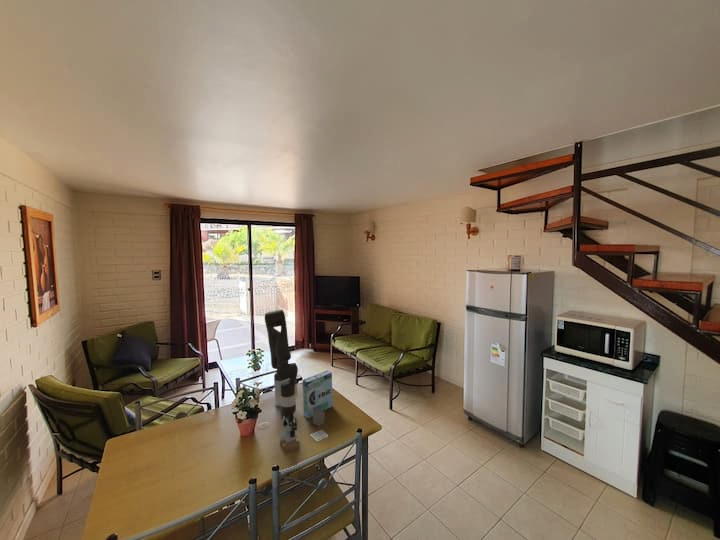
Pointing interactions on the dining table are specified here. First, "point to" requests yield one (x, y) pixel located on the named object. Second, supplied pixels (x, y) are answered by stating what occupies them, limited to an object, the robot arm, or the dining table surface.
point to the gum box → (317, 393)
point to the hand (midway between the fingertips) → (289, 432)
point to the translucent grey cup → (318, 417)
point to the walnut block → (289, 444)
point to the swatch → (319, 435)
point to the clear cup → (287, 434)
